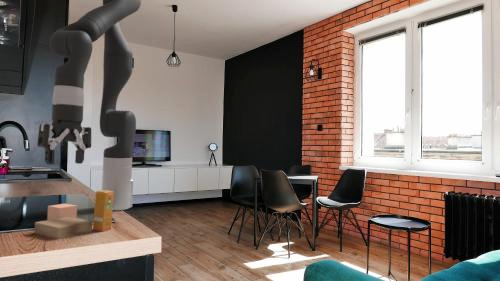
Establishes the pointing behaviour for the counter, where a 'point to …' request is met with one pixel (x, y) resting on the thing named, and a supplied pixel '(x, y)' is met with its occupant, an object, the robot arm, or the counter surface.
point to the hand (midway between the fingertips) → (64, 163)
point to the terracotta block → (62, 211)
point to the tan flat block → (63, 227)
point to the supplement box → (103, 210)
